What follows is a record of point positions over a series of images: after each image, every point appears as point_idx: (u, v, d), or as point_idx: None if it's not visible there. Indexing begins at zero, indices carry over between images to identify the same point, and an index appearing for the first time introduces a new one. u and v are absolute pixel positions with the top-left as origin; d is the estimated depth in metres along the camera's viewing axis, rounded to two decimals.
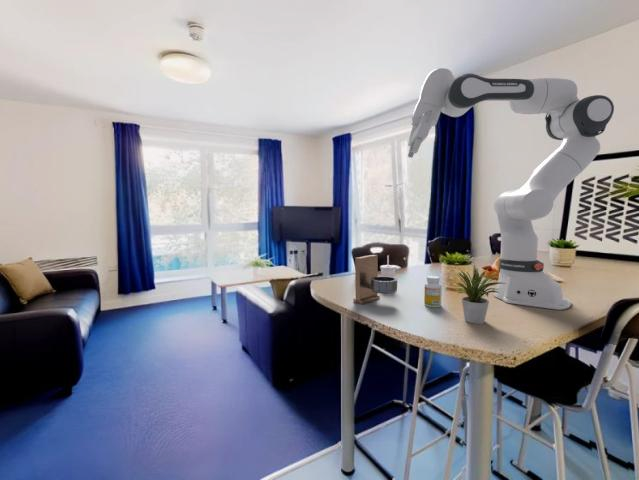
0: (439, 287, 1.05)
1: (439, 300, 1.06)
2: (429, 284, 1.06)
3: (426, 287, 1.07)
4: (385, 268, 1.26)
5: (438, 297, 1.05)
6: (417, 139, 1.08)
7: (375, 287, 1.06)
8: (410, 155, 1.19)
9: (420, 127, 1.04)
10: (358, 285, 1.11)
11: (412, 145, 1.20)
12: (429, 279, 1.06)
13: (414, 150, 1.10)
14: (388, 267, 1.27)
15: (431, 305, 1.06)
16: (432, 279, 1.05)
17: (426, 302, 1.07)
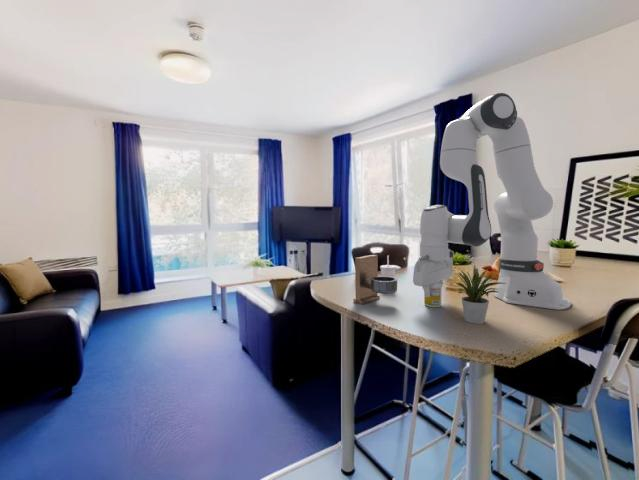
0: (439, 287, 1.05)
1: (439, 300, 1.06)
2: None
3: None
4: (385, 268, 1.26)
5: (438, 297, 1.05)
6: None
7: (375, 287, 1.06)
8: None
9: (414, 278, 1.01)
10: (358, 285, 1.11)
11: None
12: None
13: (426, 295, 1.05)
14: (388, 267, 1.27)
15: (431, 305, 1.06)
16: None
17: (426, 302, 1.07)
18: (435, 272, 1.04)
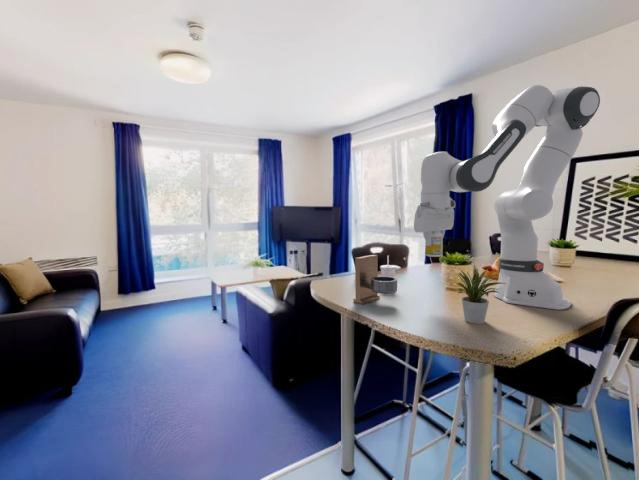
0: (440, 236, 1.04)
1: (440, 249, 1.04)
2: None
3: None
4: (385, 268, 1.26)
5: (439, 246, 1.04)
6: (424, 233, 1.03)
7: (375, 287, 1.06)
8: None
9: (414, 224, 1.00)
10: (358, 285, 1.11)
11: None
12: None
13: (427, 243, 1.03)
14: (388, 267, 1.27)
15: (432, 254, 1.04)
16: None
17: (427, 252, 1.05)
18: (436, 220, 1.03)
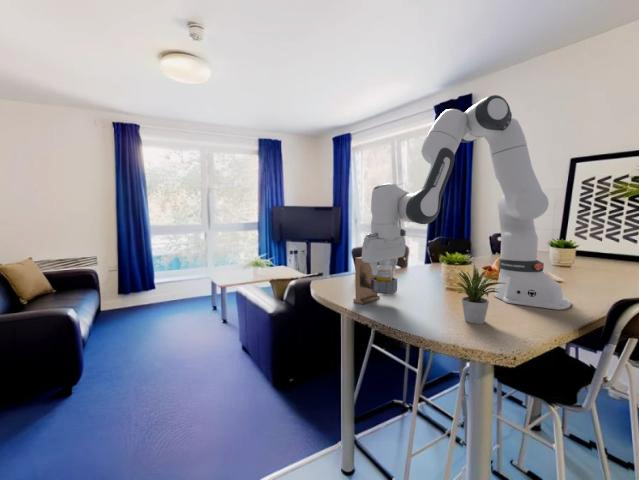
0: (389, 269, 1.06)
1: None
2: (380, 266, 1.07)
3: None
4: None
5: (388, 278, 1.06)
6: (370, 263, 1.04)
7: (375, 287, 1.06)
8: None
9: (362, 254, 1.02)
10: (358, 285, 1.11)
11: None
12: (380, 261, 1.07)
13: (373, 273, 1.05)
14: None
15: None
16: (383, 261, 1.06)
17: None
18: (385, 250, 1.05)
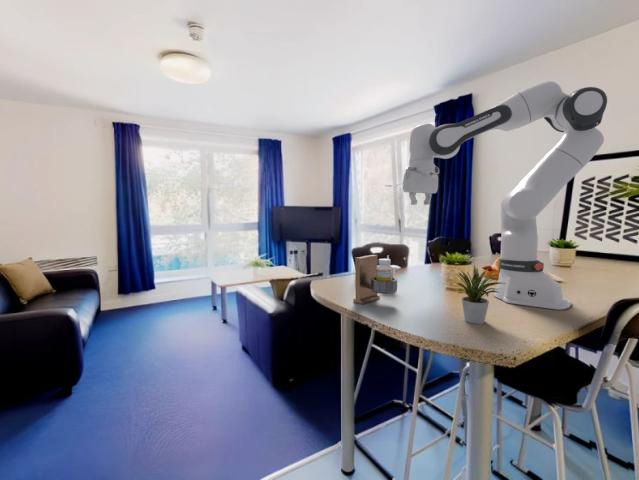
0: (389, 269, 1.06)
1: None
2: (380, 266, 1.07)
3: (377, 269, 1.07)
4: None
5: (388, 278, 1.06)
6: (410, 193, 1.20)
7: (375, 287, 1.06)
8: (425, 203, 1.27)
9: (403, 185, 1.17)
10: (358, 285, 1.11)
11: (426, 193, 1.27)
12: (380, 261, 1.07)
13: (412, 203, 1.20)
14: None
15: None
16: (383, 261, 1.06)
17: None
18: (422, 182, 1.20)
